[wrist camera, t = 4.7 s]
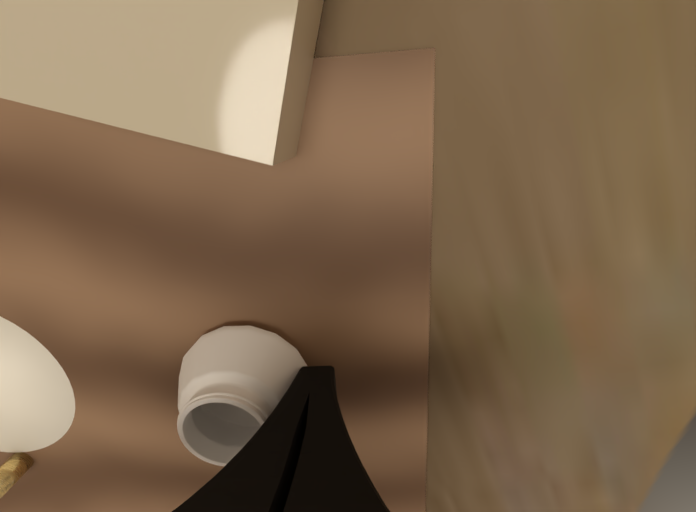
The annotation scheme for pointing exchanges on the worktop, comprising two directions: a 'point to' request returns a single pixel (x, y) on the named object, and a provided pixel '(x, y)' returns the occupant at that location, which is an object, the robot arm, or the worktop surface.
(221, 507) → the robot arm
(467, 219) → the worktop surface
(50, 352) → the wooden board
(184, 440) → the lidless jar
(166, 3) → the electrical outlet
